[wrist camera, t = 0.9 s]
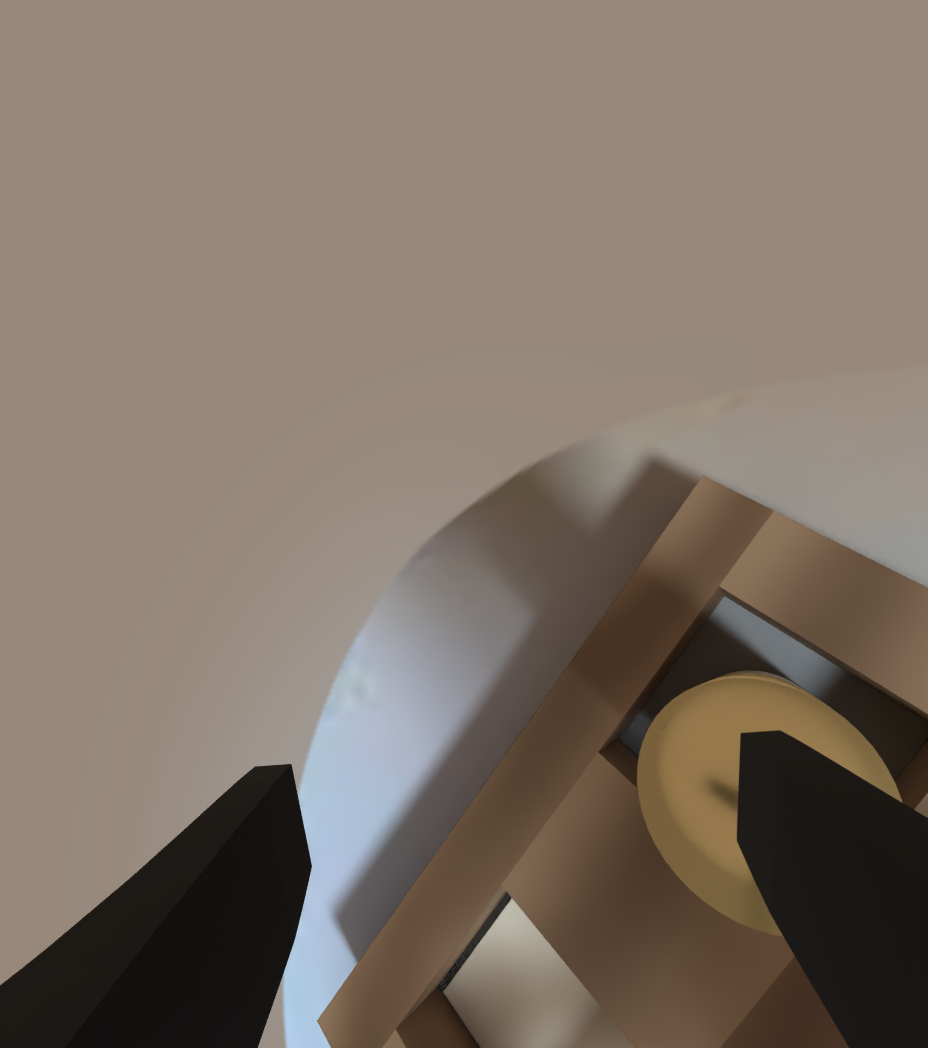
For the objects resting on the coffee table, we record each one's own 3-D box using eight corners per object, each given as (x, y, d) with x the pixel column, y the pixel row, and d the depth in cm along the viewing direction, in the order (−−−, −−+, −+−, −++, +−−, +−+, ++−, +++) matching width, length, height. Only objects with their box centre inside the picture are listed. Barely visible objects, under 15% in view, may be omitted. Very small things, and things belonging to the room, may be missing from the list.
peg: (865, 730, 17) (971, 800, 8) (783, 834, 17) (805, 1002, 9) (736, 644, 19) (717, 632, 11) (666, 738, 20) (595, 798, 11)
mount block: (1109, 706, 14) (1184, 716, 12) (578, 1338, 17) (546, 1458, 14) (710, 498, 21) (703, 475, 18) (365, 981, 23) (316, 1020, 21)
